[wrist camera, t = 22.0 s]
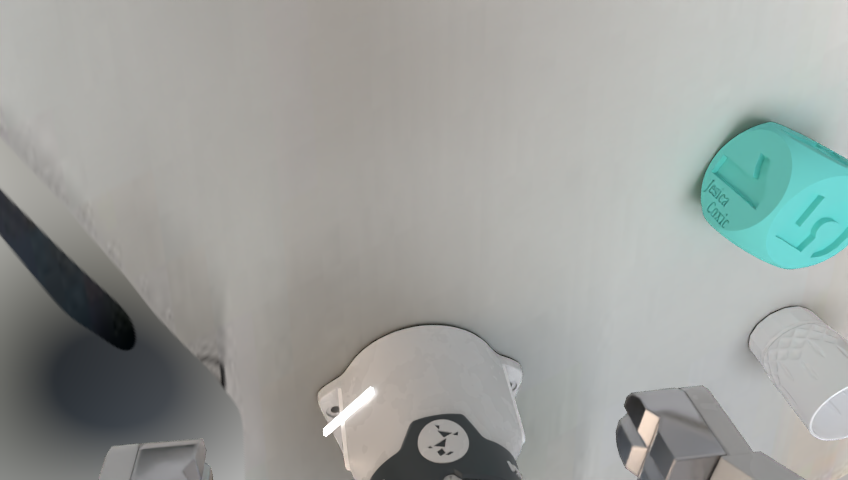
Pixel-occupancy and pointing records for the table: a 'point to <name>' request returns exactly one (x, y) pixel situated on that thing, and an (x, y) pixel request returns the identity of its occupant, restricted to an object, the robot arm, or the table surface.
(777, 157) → the decorative dice
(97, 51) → the table surface
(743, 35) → the table surface
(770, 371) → the white cup
